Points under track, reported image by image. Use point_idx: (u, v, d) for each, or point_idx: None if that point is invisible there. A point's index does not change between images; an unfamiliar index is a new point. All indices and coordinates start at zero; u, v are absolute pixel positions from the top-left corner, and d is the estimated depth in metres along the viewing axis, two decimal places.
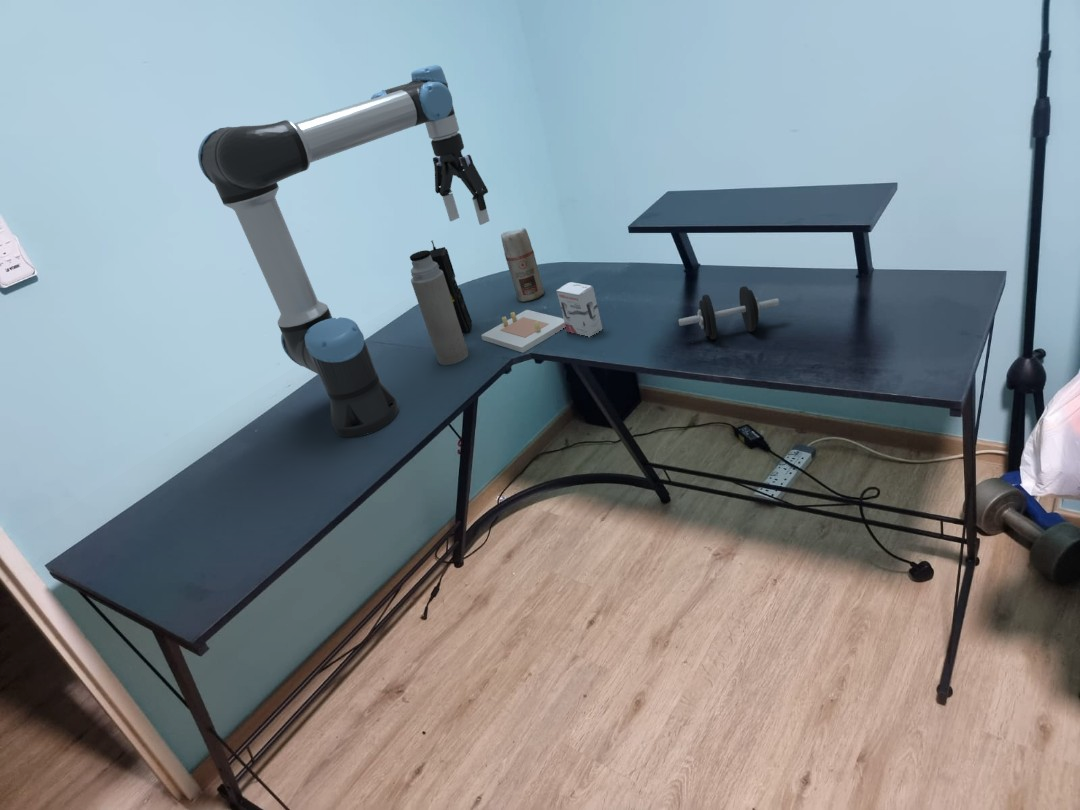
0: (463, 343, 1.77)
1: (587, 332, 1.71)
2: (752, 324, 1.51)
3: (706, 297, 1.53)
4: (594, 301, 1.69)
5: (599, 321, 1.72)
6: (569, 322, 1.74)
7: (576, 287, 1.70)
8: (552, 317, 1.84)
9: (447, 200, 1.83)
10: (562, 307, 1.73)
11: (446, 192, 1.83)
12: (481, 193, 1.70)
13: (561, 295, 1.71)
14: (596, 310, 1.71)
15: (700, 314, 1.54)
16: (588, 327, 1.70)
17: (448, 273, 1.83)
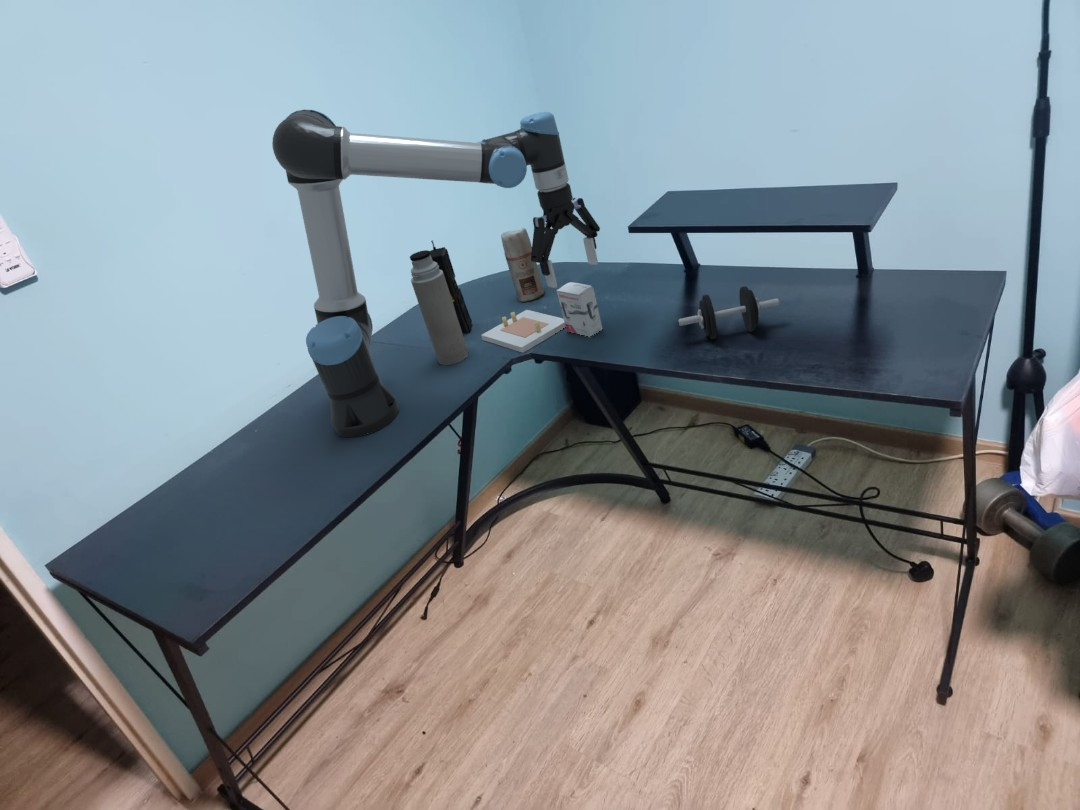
0: (463, 343, 1.77)
1: (587, 331, 1.71)
2: (752, 324, 1.51)
3: (706, 297, 1.53)
4: (594, 301, 1.69)
5: (599, 321, 1.72)
6: (569, 322, 1.74)
7: (576, 287, 1.70)
8: (552, 317, 1.84)
9: (585, 243, 1.69)
10: (562, 307, 1.73)
11: (588, 235, 1.68)
12: (532, 260, 1.60)
13: (561, 295, 1.71)
14: (596, 310, 1.71)
15: (700, 314, 1.54)
16: (588, 327, 1.70)
17: (448, 273, 1.83)
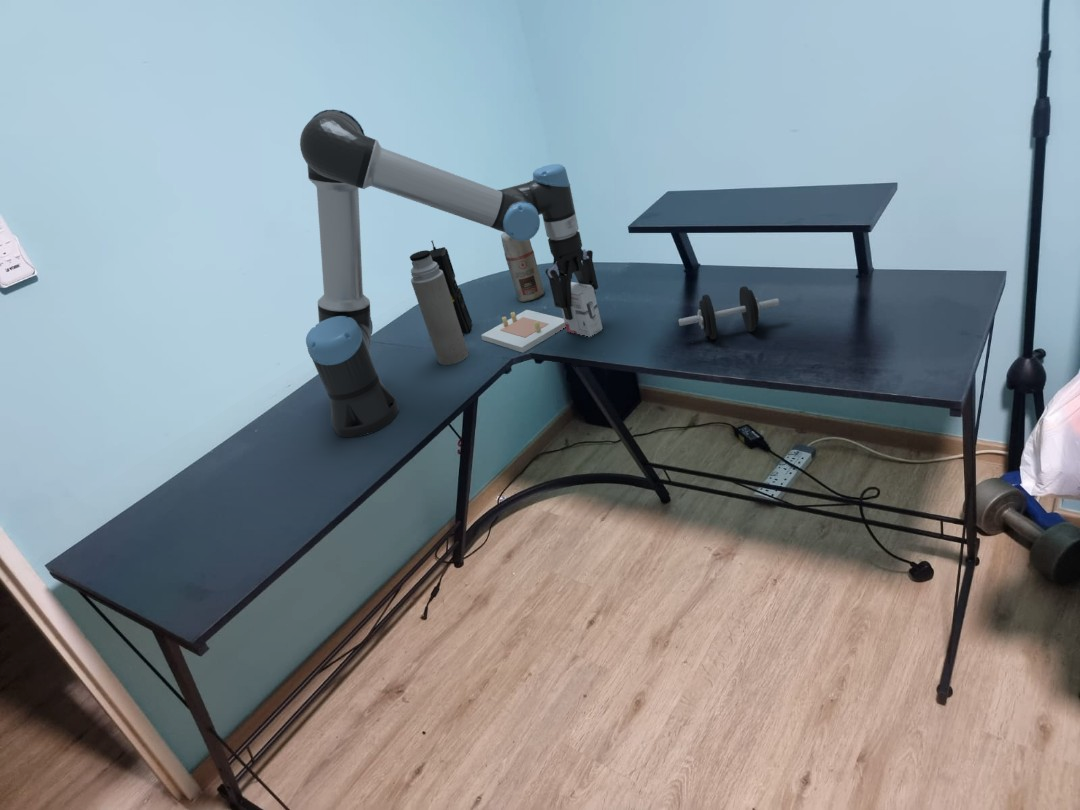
0: (463, 343, 1.77)
1: (587, 331, 1.71)
2: (752, 324, 1.51)
3: (706, 297, 1.53)
4: (594, 301, 1.69)
5: (599, 321, 1.72)
6: None
7: (576, 287, 1.70)
8: (552, 317, 1.84)
9: None
10: None
11: None
12: (556, 306, 1.69)
13: None
14: (596, 310, 1.71)
15: (700, 314, 1.54)
16: (588, 326, 1.70)
17: (448, 273, 1.83)
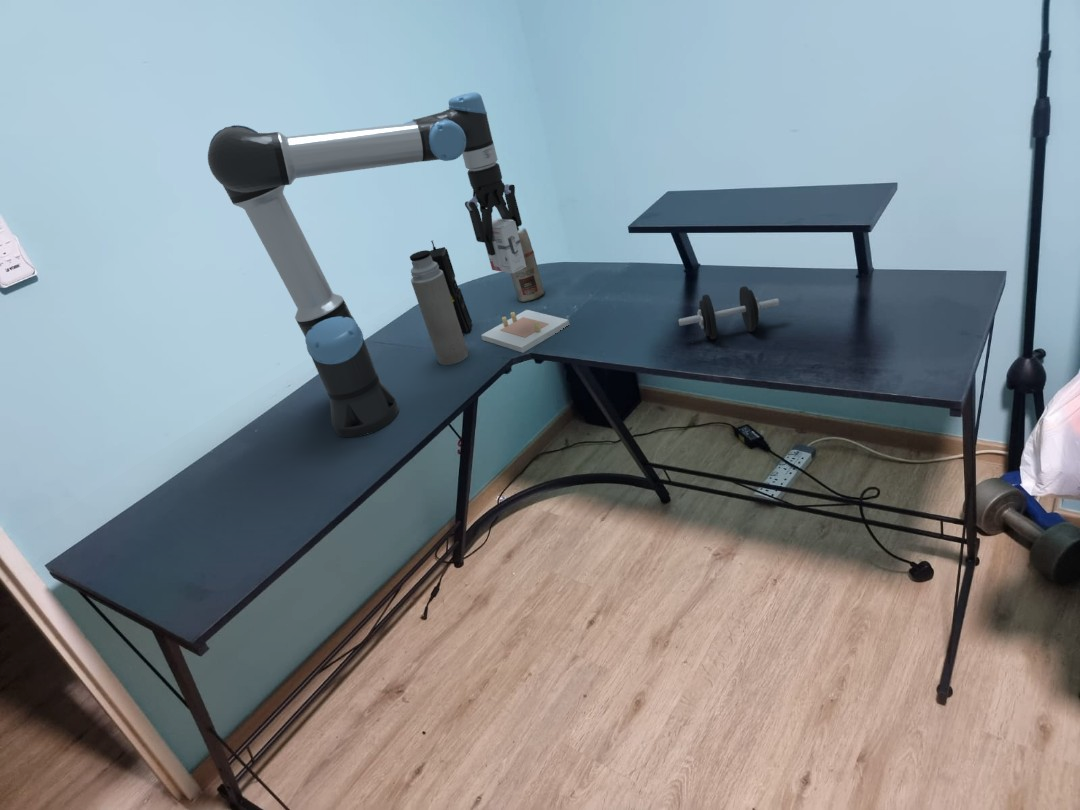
0: (463, 343, 1.77)
1: (509, 267, 1.70)
2: (752, 324, 1.51)
3: (706, 297, 1.53)
4: (516, 236, 1.68)
5: (522, 257, 1.71)
6: None
7: (499, 221, 1.68)
8: (552, 317, 1.84)
9: None
10: None
11: None
12: (477, 240, 1.67)
13: None
14: (519, 245, 1.69)
15: (700, 314, 1.54)
16: (510, 262, 1.69)
17: (448, 273, 1.83)
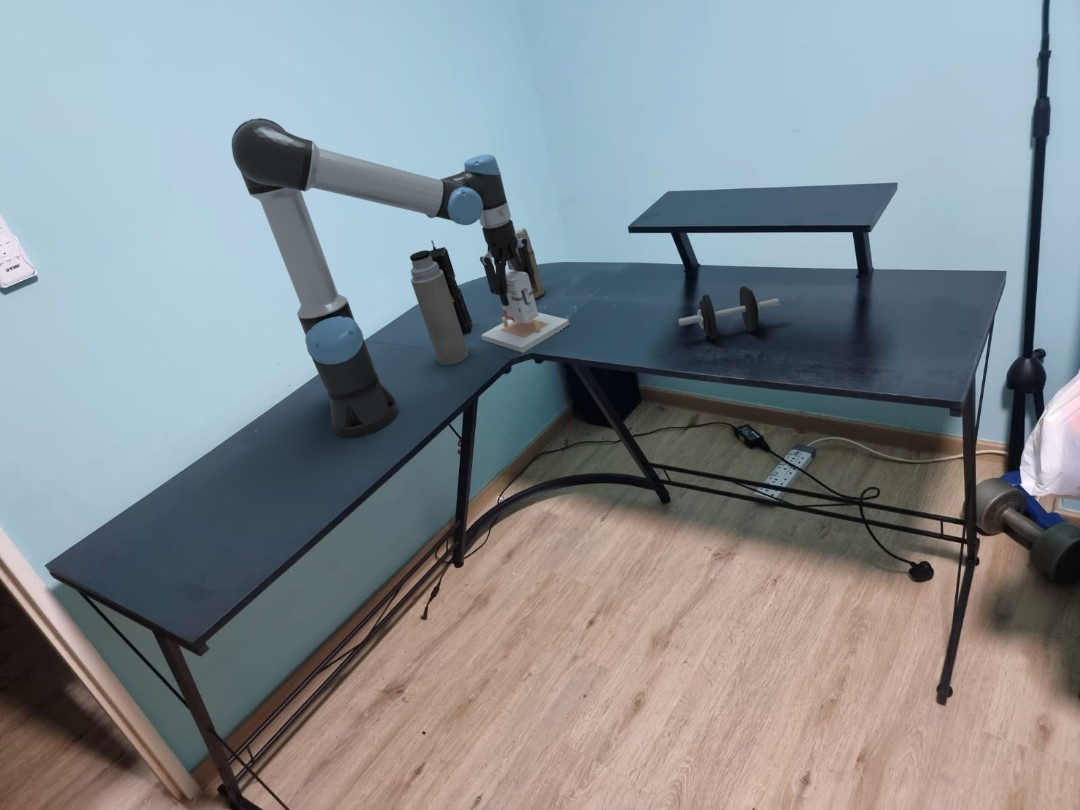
0: (463, 343, 1.77)
1: (522, 317, 1.77)
2: (752, 324, 1.51)
3: (706, 297, 1.53)
4: (529, 288, 1.75)
5: (535, 307, 1.78)
6: None
7: (512, 274, 1.75)
8: (552, 317, 1.84)
9: None
10: None
11: None
12: (492, 292, 1.74)
13: None
14: (532, 297, 1.76)
15: (700, 314, 1.54)
16: (523, 313, 1.76)
17: (448, 273, 1.83)
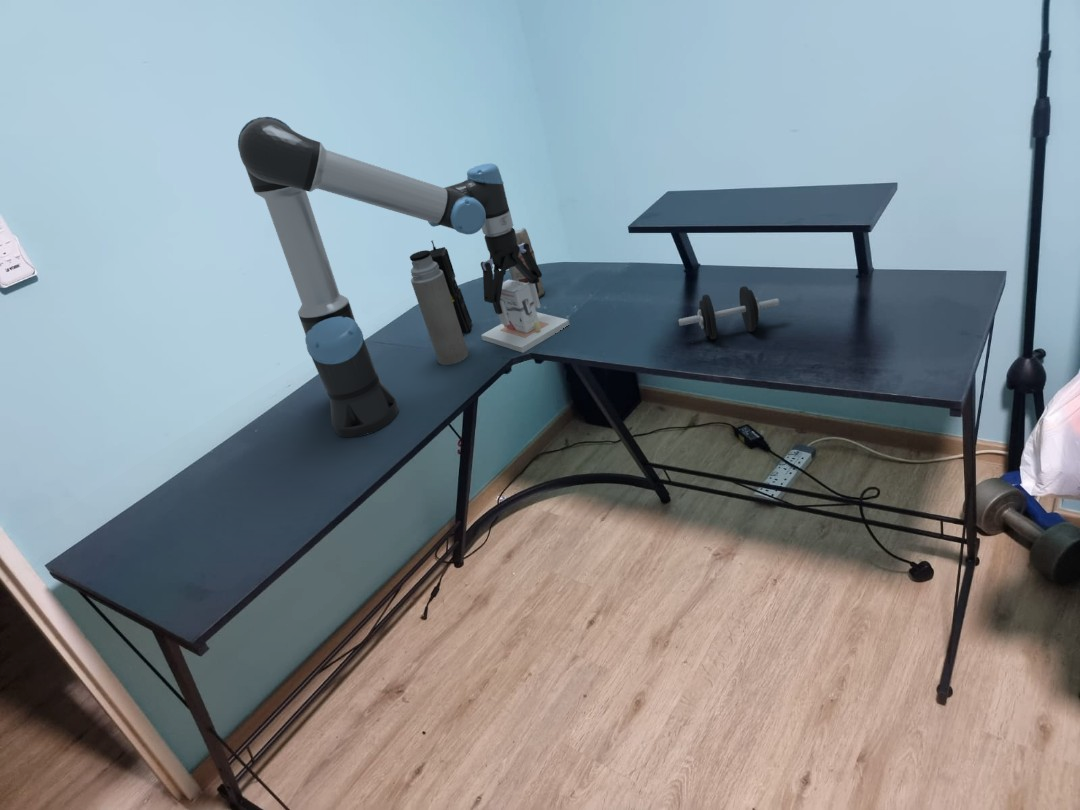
0: (463, 343, 1.77)
1: (524, 327, 1.78)
2: (752, 324, 1.51)
3: (706, 297, 1.53)
4: (530, 298, 1.76)
5: (536, 317, 1.79)
6: (508, 318, 1.81)
7: (513, 284, 1.76)
8: (552, 317, 1.84)
9: None
10: None
11: (531, 280, 1.80)
12: (485, 300, 1.73)
13: None
14: (533, 307, 1.77)
15: (700, 314, 1.54)
16: (524, 323, 1.77)
17: (448, 273, 1.83)
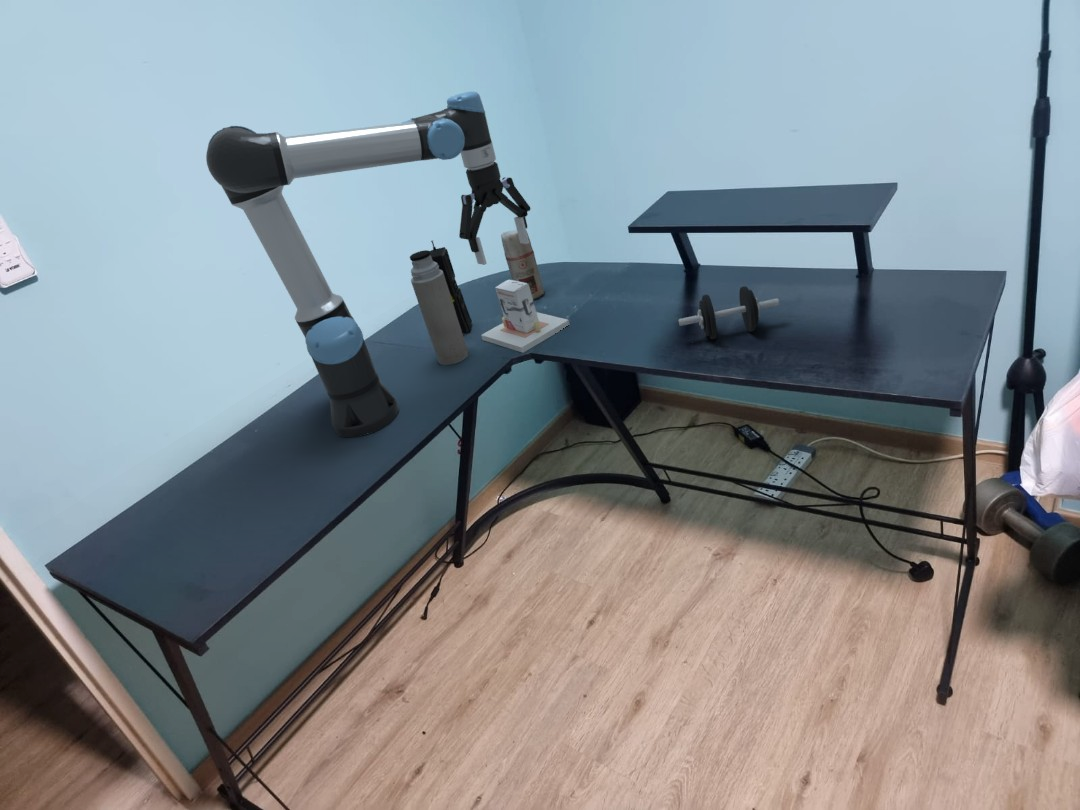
0: (463, 343, 1.77)
1: (524, 327, 1.78)
2: (752, 324, 1.51)
3: (706, 297, 1.53)
4: (530, 298, 1.76)
5: (536, 317, 1.79)
6: (508, 318, 1.81)
7: (513, 284, 1.76)
8: (552, 317, 1.84)
9: (516, 222, 1.74)
10: (501, 303, 1.80)
11: (519, 214, 1.72)
12: (460, 237, 1.64)
13: (499, 292, 1.78)
14: (533, 307, 1.77)
15: (700, 314, 1.54)
16: (524, 323, 1.77)
17: (448, 273, 1.83)
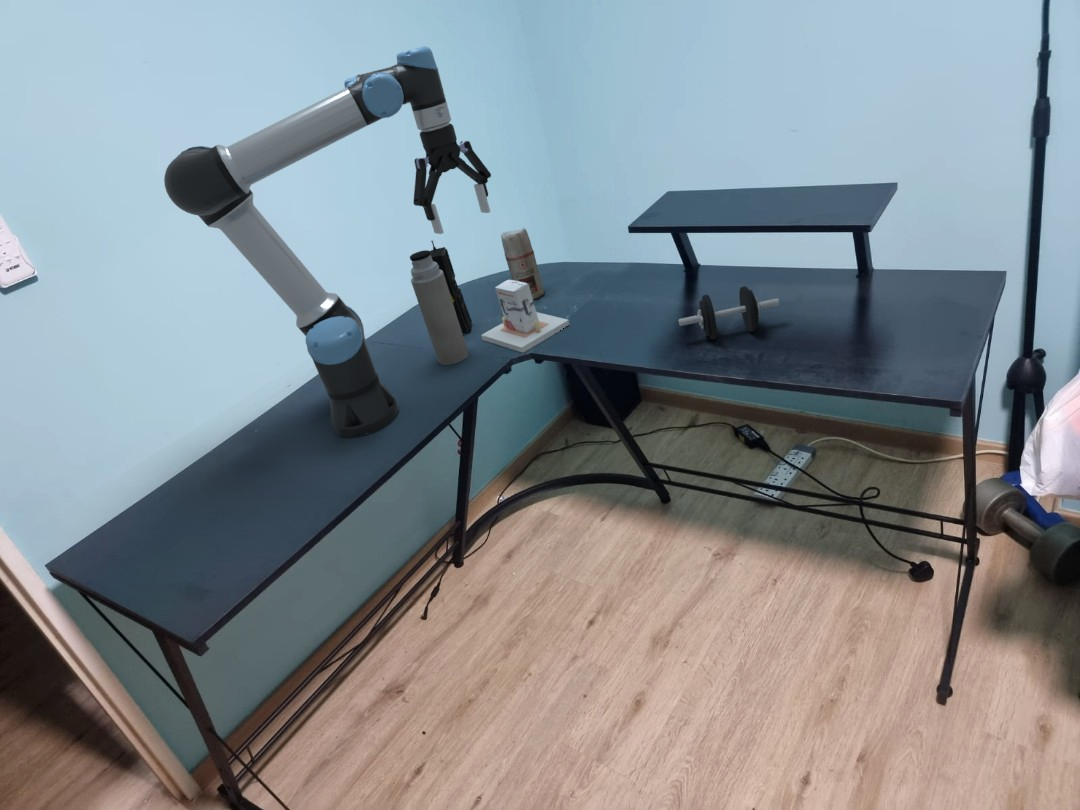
0: (463, 343, 1.77)
1: (524, 327, 1.78)
2: (752, 324, 1.51)
3: (706, 297, 1.53)
4: (530, 298, 1.76)
5: (536, 317, 1.79)
6: (508, 318, 1.81)
7: (513, 284, 1.76)
8: (552, 317, 1.84)
9: (476, 190, 1.64)
10: (501, 303, 1.80)
11: (479, 181, 1.63)
12: (414, 203, 1.55)
13: (499, 292, 1.78)
14: (533, 307, 1.77)
15: (700, 314, 1.54)
16: (524, 323, 1.77)
17: (448, 273, 1.83)
